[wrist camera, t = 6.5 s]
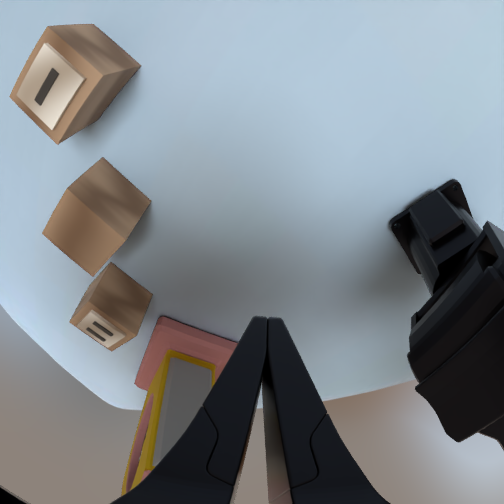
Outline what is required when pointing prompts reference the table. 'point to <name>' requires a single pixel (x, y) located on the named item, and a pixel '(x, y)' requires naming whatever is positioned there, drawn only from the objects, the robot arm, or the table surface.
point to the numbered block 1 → (71, 78)
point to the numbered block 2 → (112, 308)
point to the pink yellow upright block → (172, 390)
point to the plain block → (96, 216)
